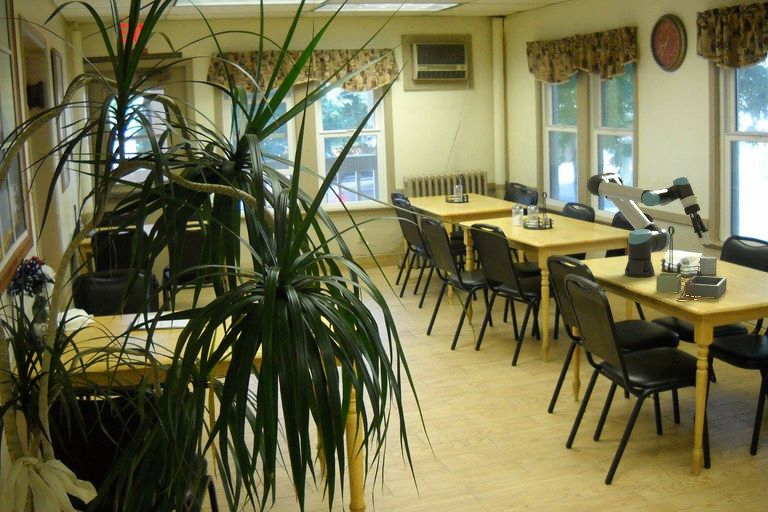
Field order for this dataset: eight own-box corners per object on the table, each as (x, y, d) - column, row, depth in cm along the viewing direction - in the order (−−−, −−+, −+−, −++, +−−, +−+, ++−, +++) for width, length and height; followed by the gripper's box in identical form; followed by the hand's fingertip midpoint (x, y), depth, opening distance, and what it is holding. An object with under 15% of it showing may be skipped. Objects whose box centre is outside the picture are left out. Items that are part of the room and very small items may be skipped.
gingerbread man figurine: (694, 298, 415) (695, 273, 413) (698, 300, 412) (698, 274, 410) (676, 299, 415) (676, 274, 413) (679, 301, 411) (680, 276, 409)
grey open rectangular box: (684, 296, 421) (685, 283, 420) (694, 287, 437) (694, 275, 436) (718, 298, 413) (718, 285, 412) (726, 289, 430) (726, 277, 429)
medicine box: (714, 273, 469) (714, 256, 467) (716, 274, 465) (716, 258, 463) (698, 273, 470) (699, 257, 468) (700, 275, 465) (701, 258, 464)
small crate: (656, 291, 432) (656, 275, 431) (660, 288, 439) (660, 272, 438) (677, 293, 427) (677, 277, 426) (681, 290, 434) (681, 274, 432)
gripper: (692, 201, 445) (709, 241, 442) (702, 203, 467) (717, 241, 463) (678, 207, 449) (694, 246, 445) (688, 209, 471) (703, 246, 467)
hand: (706, 244), depth 454 cm, fingers open, 13 cm apart
